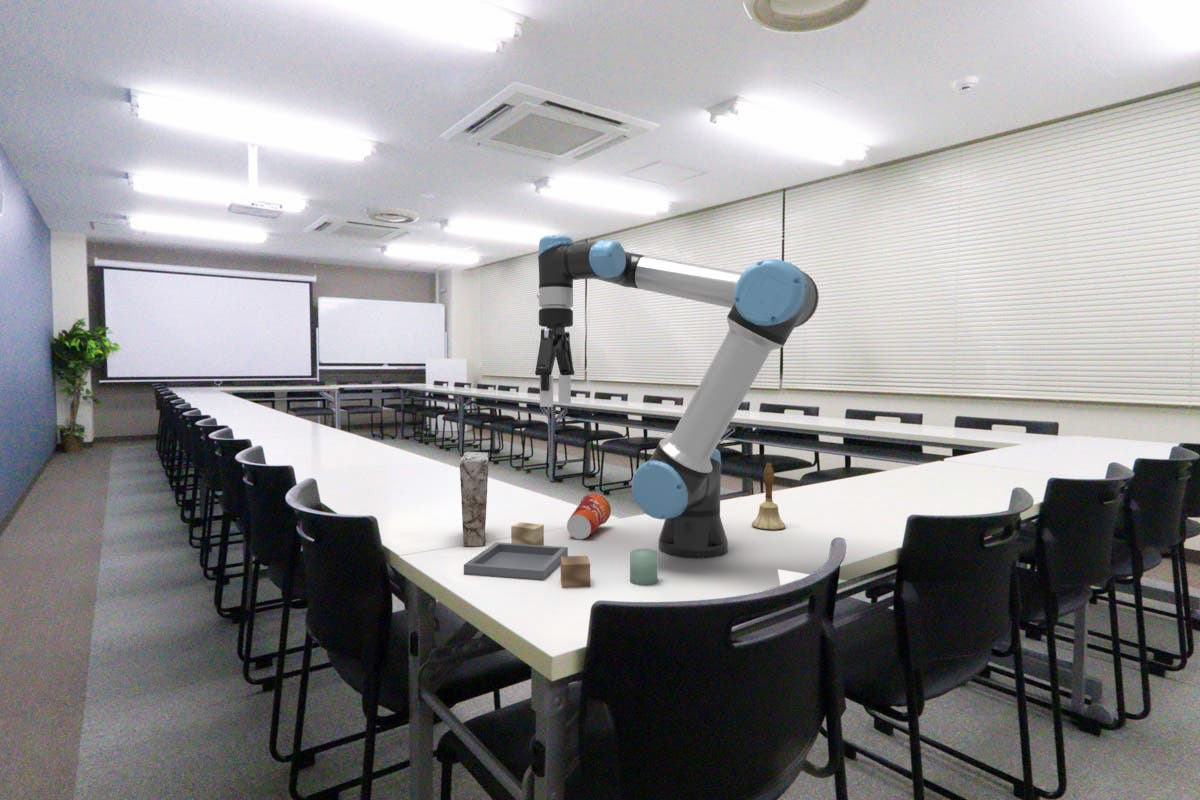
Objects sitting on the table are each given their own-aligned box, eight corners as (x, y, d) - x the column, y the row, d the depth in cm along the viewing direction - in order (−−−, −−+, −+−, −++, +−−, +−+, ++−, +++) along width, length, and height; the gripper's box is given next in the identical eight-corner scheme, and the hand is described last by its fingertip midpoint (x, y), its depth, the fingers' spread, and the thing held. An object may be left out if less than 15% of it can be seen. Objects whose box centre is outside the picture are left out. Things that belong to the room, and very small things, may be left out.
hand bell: (779, 531, 155) (780, 466, 154) (747, 526, 159) (748, 464, 158) (789, 524, 161) (790, 462, 161) (758, 520, 166) (759, 460, 165)
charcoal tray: (567, 558, 132) (567, 547, 132) (543, 583, 116) (543, 571, 116) (496, 553, 135) (496, 542, 135) (463, 577, 120) (463, 564, 120)
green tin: (658, 581, 118) (659, 549, 118) (655, 590, 113) (655, 557, 113) (632, 579, 119) (632, 547, 119) (627, 588, 114) (627, 555, 114)
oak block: (543, 546, 141) (543, 524, 141) (535, 551, 137) (534, 529, 137) (520, 543, 143) (520, 522, 143) (511, 548, 140) (511, 526, 139)
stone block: (492, 546, 141) (492, 457, 140) (460, 548, 139) (460, 458, 138) (487, 531, 154) (487, 450, 153) (458, 533, 152) (457, 451, 151)
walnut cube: (587, 582, 118) (587, 555, 117) (590, 591, 113) (590, 563, 112) (560, 583, 117) (560, 556, 117) (562, 592, 112) (562, 564, 112)
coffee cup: (584, 504, 145) (601, 486, 159) (555, 519, 147) (575, 500, 162) (602, 535, 145) (618, 514, 159) (574, 550, 147) (592, 528, 161)
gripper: (556, 313, 151) (556, 401, 152) (519, 303, 127) (520, 408, 128) (586, 313, 149) (586, 402, 150) (555, 302, 125) (555, 408, 126)
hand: (555, 405), depth 139 cm, fingers open, 13 cm apart
